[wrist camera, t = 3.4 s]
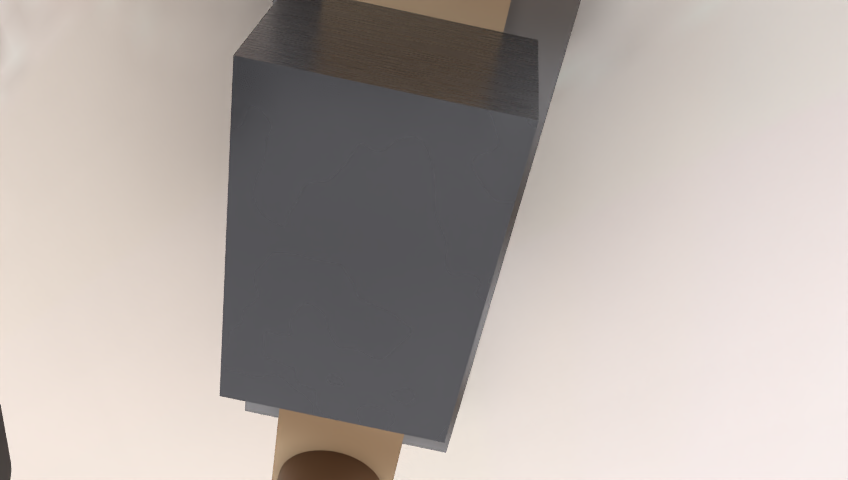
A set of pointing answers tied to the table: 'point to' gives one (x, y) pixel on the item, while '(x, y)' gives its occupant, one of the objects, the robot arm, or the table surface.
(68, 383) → the table surface
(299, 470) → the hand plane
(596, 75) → the table surface
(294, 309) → the grey rectangular box
